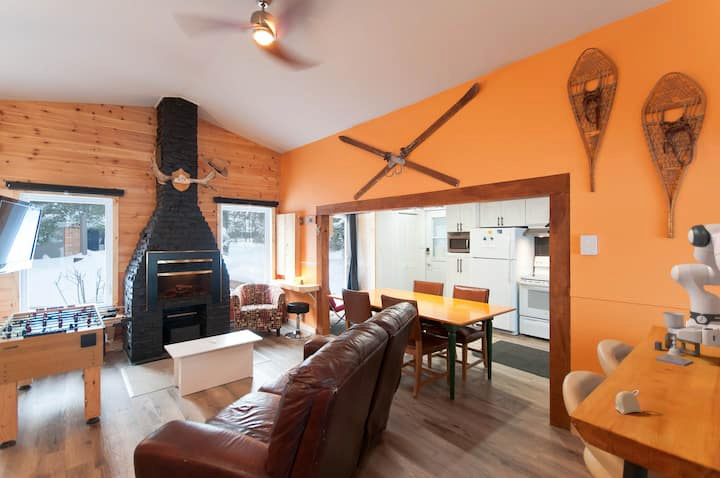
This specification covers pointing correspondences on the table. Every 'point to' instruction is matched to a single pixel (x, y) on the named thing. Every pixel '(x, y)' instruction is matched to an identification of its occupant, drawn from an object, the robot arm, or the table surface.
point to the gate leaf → (682, 345)
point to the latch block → (658, 345)
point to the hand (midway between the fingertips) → (671, 328)
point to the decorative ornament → (627, 402)
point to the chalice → (674, 322)
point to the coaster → (674, 360)
